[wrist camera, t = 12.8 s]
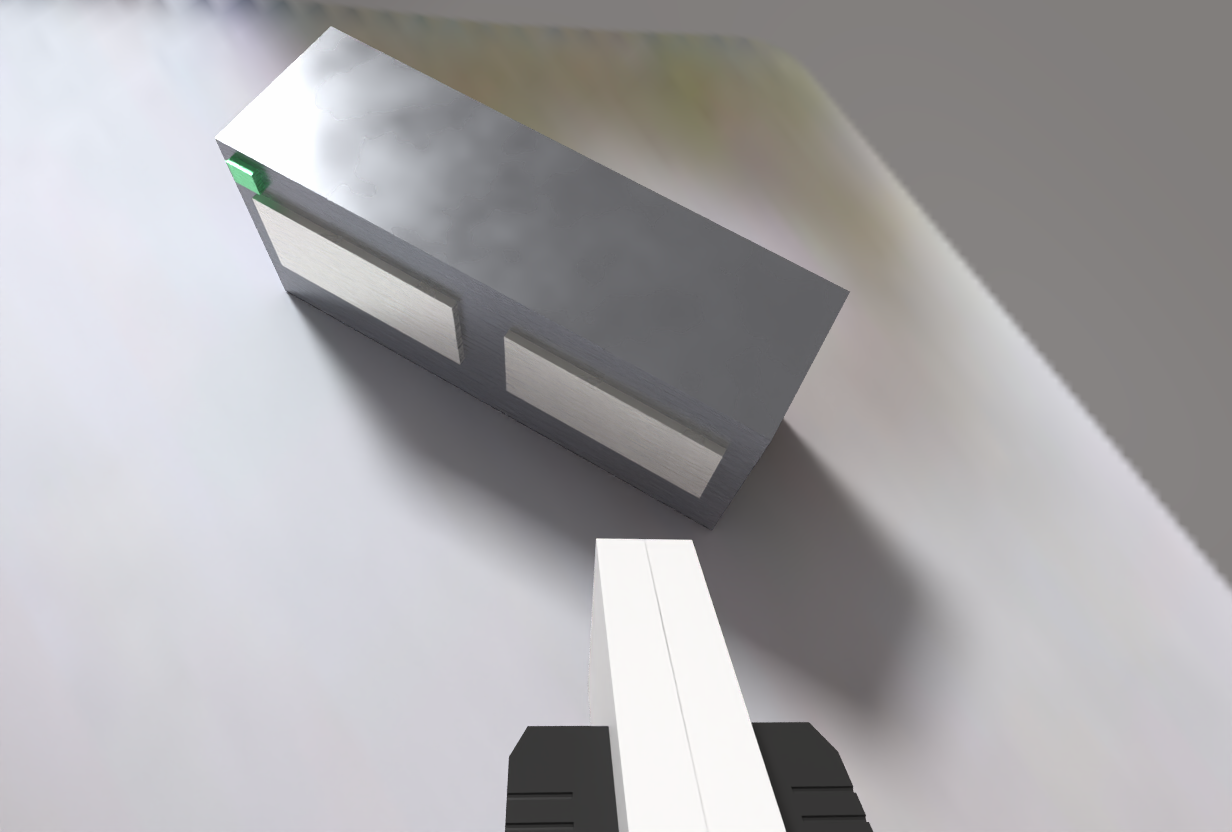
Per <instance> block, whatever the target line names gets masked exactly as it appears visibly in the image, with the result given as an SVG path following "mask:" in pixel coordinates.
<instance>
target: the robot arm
mask: <svg viewBox="0 0 1232 832" xmlns="http://www.w3.org/2000/svg"><path fill="white" fill-rule="evenodd" d="M588 695H589V709H590V724H591V726H528V727H527V728H526V730H525V732H524V733H523V735H522V737H521V738H520V740H519V742H518V743H517V745H516V746H515V748H514V750H513V751H512V753H511V755H510V756H509V768H508V786H507V805H506V823H505V832H873V830H872V828H871V826H870V824H869V822H866V818H865V816H866V815H865V812H864V810H863V808H862V805H861V803H860V801H859V799H858V796H857V794H856V793H854V792H853V785H852V783H851V780H850V778H849V776H848V774H847V771H846V769H845V767H844V764H843V762H842V760H841V758H840V755H839V753H838V751H837V750H836V749H835V748H834V747H833V746H832V745H831V744H830V743H829V742H828V741H827V740H826V739H825V738H824V737H823V736H822V735H821V734H820V733H819V732H818V731H817V730H816V729H815V728H814V727H813V726H812V725H811V724H810V723H809V722H772V723H751V721H750V718H749V715H748V712H747V709H746V706H745V702H744V699H743V696H742V693H741V690H740V687H739V684H738V681H737V678H736V675H735V671H734V668H733V665H732V662H731V659H730V656H729V653H728V650H727V647H726V644H725V640H724V637H723V634H722V631H721V628H720V625H719V622H718V619H717V616H716V613H715V609H714V606H713V603H712V600H711V597H710V594H709V591H708V588H707V585H706V582H705V578H704V575H703V572H702V569H701V566H700V563H699V560H698V557H697V554H696V551H695V547H694V544H693V541H692V540H662V539H596V548H595V566H594V584H593V601H592V619H591V637H590V654H589V672H588Z"/></svg>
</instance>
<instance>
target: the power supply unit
mask: <svg viewBox="0 0 1232 832" xmlns="http://www.w3.org/2000/svg"><path fill="white" fill-rule="evenodd" d="M215 139H216V141H217V144H218V146H219V148H220V150H221V152H222V154H223V157H224V159H225V161H226V163H227V165H228V167H229V170H230V172H231V174H232V176H233V178H234V180H235V182H236V185H237V187H238V189H239V191H240V193H241V195H242V198H243V200H244V202H245V204H246V206H247V208H248V211H249V213H250V215H251V217H252V219H253V221H254V224H255V226H256V228H257V230H258V232H259V234H260V237H261V239H262V241H263V243H264V245H265V247H266V250H267V252H268V254H269V256H270V258H271V260H272V263H273V265H274V267H275V269H276V271H277V273H278V276H279V278H280V280H281V282H282V284H283V286H284V289H285V290H286V291H287V292H289V293H291V294H293V295H295V296H296V297H298V298H300V299H302V300H303V301H305V302H307V303H309V304H311V305H312V306H314V307H316V308H318V309H319V310H321V311H323V312H325V313H327V314H328V315H330V316H332V317H334V318H335V319H337V320H339V321H341V322H343V323H344V324H346V325H348V326H350V327H351V328H353V329H355V330H357V331H359V332H360V333H362V334H364V335H366V336H367V337H369V338H371V339H373V340H375V341H376V342H378V343H380V344H382V345H383V346H385V347H387V348H389V349H391V350H392V351H394V352H396V353H398V354H399V355H401V356H403V357H405V358H407V359H408V360H410V361H412V362H414V363H415V364H417V365H419V366H421V367H423V368H424V369H426V370H428V371H430V372H431V373H433V374H435V375H437V376H439V377H440V378H442V379H444V380H446V381H447V382H449V383H451V384H453V385H455V386H456V387H458V388H460V389H462V390H463V391H465V392H467V393H469V394H471V395H472V396H474V397H476V398H478V399H479V400H481V401H483V402H485V403H487V404H488V405H490V406H492V407H494V408H495V409H497V410H499V411H501V412H503V413H504V414H506V415H508V416H510V417H511V418H513V419H515V420H517V421H518V422H520V423H522V424H524V425H526V426H527V427H529V428H531V429H533V430H534V431H536V432H538V433H540V434H542V435H543V436H545V437H547V438H549V439H550V440H552V441H554V442H556V443H558V444H559V445H561V446H563V447H565V448H566V449H568V450H570V451H572V452H574V453H575V454H577V455H579V456H581V457H582V458H584V459H586V460H588V461H590V462H591V463H593V464H595V465H597V466H598V467H600V468H602V469H604V470H606V471H607V472H609V473H611V474H613V475H614V476H616V477H618V478H620V479H622V480H623V481H625V482H627V483H629V484H630V485H632V486H634V487H636V488H638V489H639V490H641V491H643V492H645V493H646V494H648V495H650V496H652V497H654V498H655V499H657V500H659V501H661V502H662V503H664V504H666V505H668V506H670V507H671V508H673V509H675V510H677V511H678V512H680V513H682V514H684V515H686V516H687V517H689V518H691V519H693V520H694V521H696V522H698V523H700V524H702V525H703V526H705V527H707V528H709V529H710V530H712V529H713V527H714V526H715V524H716V523H717V521H718V520H719V518H720V517H721V515H722V514H723V512H724V511H725V509H726V508H727V506H728V505H729V503H730V502H731V500H732V499H733V497H734V496H735V494H736V493H737V491H738V490H739V488H740V487H741V485H742V484H743V482H744V481H745V479H746V478H747V476H748V475H749V473H750V472H751V470H752V469H753V467H754V466H755V464H756V463H757V461H758V460H759V458H760V457H761V455H762V454H763V452H764V451H765V449H766V448H767V446H768V445H769V443H770V442H771V440H772V438H773V436H774V435H775V433H776V431H777V429H778V427H779V425H780V423H781V421H782V419H783V418H784V416H785V414H786V412H787V410H788V408H789V406H790V404H791V402H792V400H793V399H794V397H795V395H796V393H797V391H798V389H799V387H800V385H801V383H802V382H803V380H804V378H805V376H806V374H807V372H808V370H809V368H810V366H811V364H812V363H813V361H814V359H815V357H816V355H817V353H818V351H819V349H820V347H821V346H822V344H823V342H824V340H825V338H826V336H827V334H828V332H829V330H830V329H831V327H832V325H833V323H834V321H835V319H836V317H837V315H838V313H839V311H840V310H841V308H842V306H843V304H844V302H845V300H846V298H847V296H848V294H849V293H850V292H849V291H847V290H845V289H843V288H841V287H840V286H838V285H836V284H834V283H832V282H830V281H828V280H826V279H824V278H822V277H820V276H818V275H816V274H814V273H812V272H810V271H808V270H806V269H804V268H802V267H800V266H798V265H797V264H795V263H793V262H791V261H789V260H787V259H785V258H783V257H781V256H779V255H777V254H775V253H773V252H771V251H769V250H767V249H765V248H763V247H761V246H759V245H757V244H755V243H754V242H752V241H750V240H748V239H746V238H744V237H742V236H740V235H738V234H736V233H734V232H732V231H730V230H728V229H726V228H724V227H722V226H720V225H718V224H716V223H714V222H712V221H711V220H709V219H707V218H705V217H703V216H701V215H699V214H697V213H695V212H693V211H691V210H689V209H687V208H685V207H683V206H681V205H679V204H677V203H675V202H673V201H671V200H669V199H668V198H666V197H664V196H662V195H660V194H658V193H656V192H654V191H652V190H650V189H648V188H646V187H644V186H642V185H640V184H638V183H636V182H634V181H632V180H630V179H628V178H626V177H625V176H623V175H621V174H619V173H617V172H615V171H613V170H611V169H609V168H607V167H605V166H603V165H601V164H599V163H597V162H595V161H593V160H591V159H589V158H587V157H585V156H583V155H582V154H580V153H578V152H576V151H574V150H572V149H570V148H568V147H566V146H564V145H562V144H560V143H558V142H556V141H554V140H552V139H550V138H548V137H546V136H544V135H542V134H540V133H539V132H537V131H535V130H533V129H531V128H529V127H527V126H525V125H523V124H521V123H519V122H517V121H515V120H513V119H511V118H509V117H507V116H505V115H503V114H501V113H499V112H497V111H496V110H494V109H492V108H490V107H488V106H486V105H484V104H482V103H480V102H478V101H476V100H474V99H472V98H470V97H468V96H466V95H464V94H462V93H460V92H458V91H456V90H454V89H453V88H451V87H449V86H447V85H445V84H443V83H441V82H439V81H437V80H435V79H433V78H431V77H429V76H427V75H425V74H423V73H421V72H419V71H417V70H415V69H413V68H411V67H410V66H408V65H406V64H404V63H402V62H400V61H398V60H396V59H394V58H392V57H390V56H388V55H386V54H384V53H382V52H380V51H378V50H376V49H374V48H372V47H370V46H369V45H367V44H365V43H363V42H361V41H359V40H357V39H355V38H353V37H351V36H349V35H347V34H345V33H343V32H341V31H339V30H337V29H335V28H333V27H330V28H329V29H328V30H327V31H325V32H324V33H323V34H322V35H321V36H320V37H319V38H318V39H317V40H316V41H315V42H314V43H313V44H312V45H311V46H310V47H309V48H308V49H307V50H306V51H305V52H304V53H303V54H302V55H301V56H300V57H298V58H297V59H296V60H295V61H294V62H293V63H292V64H291V65H290V66H289V67H288V68H287V69H286V70H285V71H284V72H283V73H282V74H281V75H280V76H279V77H278V78H277V79H276V80H275V81H274V82H272V83H271V84H270V85H269V86H268V87H267V88H266V89H265V90H264V91H263V92H262V93H261V94H260V95H259V96H258V97H257V98H256V99H255V100H254V101H253V102H252V103H251V104H250V105H249V106H248V107H246V108H245V109H244V110H243V111H242V112H241V113H240V114H239V115H238V116H237V117H236V118H235V119H234V120H233V121H232V122H231V123H230V124H229V125H228V126H227V127H226V128H225V129H224V130H223V131H222V132H221V133H219V134H218V135H217V136H216V137H215Z"/></svg>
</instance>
